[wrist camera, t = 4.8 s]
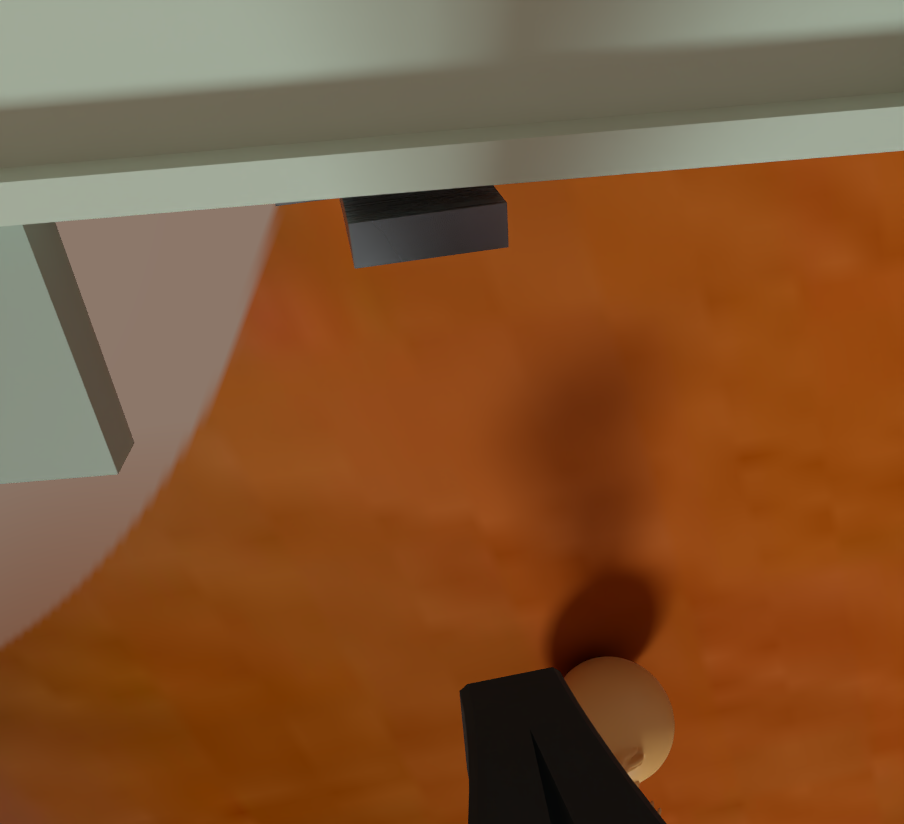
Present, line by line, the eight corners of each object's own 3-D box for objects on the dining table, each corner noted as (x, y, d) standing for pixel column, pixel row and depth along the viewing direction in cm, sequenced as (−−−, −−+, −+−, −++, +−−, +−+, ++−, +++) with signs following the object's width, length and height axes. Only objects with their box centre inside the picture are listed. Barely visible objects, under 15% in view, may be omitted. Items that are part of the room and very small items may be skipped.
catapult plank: (1103, -314, 10) (1290, -373, 8) (906, 378, 15) (984, 455, 13) (-339, -188, 10) (-541, -211, 8) (-20, 455, 15) (-88, 543, 13)
